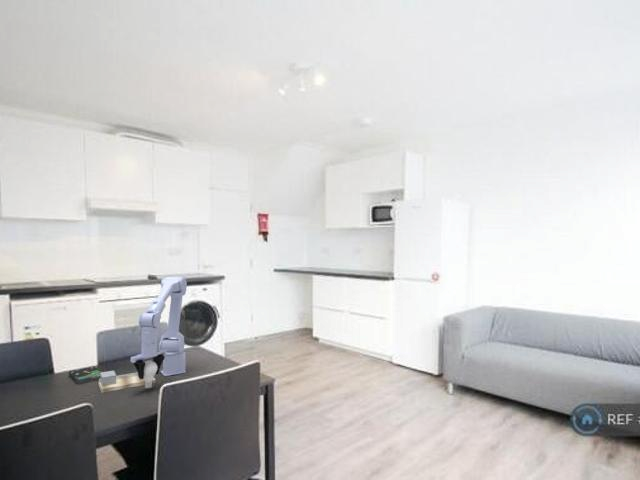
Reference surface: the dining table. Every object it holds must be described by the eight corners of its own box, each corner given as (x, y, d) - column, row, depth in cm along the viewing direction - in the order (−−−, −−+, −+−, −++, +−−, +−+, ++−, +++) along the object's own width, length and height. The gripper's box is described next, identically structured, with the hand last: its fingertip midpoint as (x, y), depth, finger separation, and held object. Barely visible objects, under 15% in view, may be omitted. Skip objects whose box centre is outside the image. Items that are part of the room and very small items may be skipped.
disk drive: (68, 377, 169) (77, 386, 159) (68, 371, 169) (77, 379, 159) (94, 372, 177) (105, 379, 167) (94, 366, 177) (105, 373, 167)
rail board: (149, 375, 172) (150, 364, 172) (155, 382, 163) (155, 371, 163) (98, 384, 160) (98, 372, 160) (101, 392, 151) (101, 380, 151)
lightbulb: (160, 387, 156) (161, 359, 157) (148, 391, 150) (149, 363, 151) (148, 385, 159) (149, 358, 160) (136, 389, 153) (137, 361, 154)
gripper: (159, 337, 163) (159, 369, 163) (126, 344, 151) (125, 379, 151) (169, 339, 159) (169, 372, 159) (136, 347, 147) (136, 382, 147)
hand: (148, 375), depth 155 cm, fingers closed on lightbulb, 6 cm apart
